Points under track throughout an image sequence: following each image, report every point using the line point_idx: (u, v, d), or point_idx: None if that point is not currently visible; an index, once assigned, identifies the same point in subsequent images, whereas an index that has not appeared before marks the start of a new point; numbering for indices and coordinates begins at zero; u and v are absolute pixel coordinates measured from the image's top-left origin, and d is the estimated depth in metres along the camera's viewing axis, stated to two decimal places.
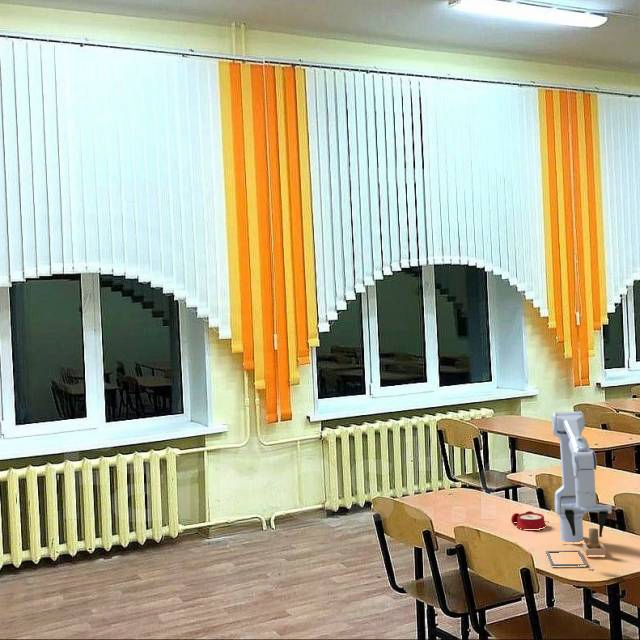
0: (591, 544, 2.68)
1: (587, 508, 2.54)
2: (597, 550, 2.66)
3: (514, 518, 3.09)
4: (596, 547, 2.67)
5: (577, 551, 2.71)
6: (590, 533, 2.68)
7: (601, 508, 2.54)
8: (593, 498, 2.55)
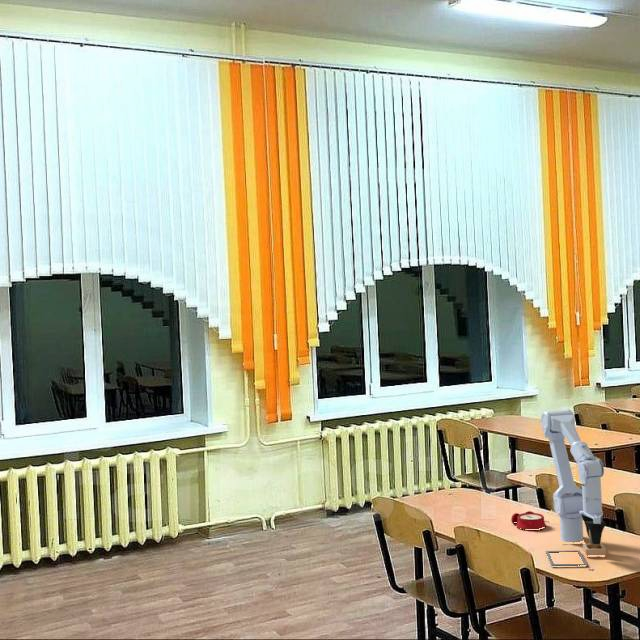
0: (591, 544, 2.68)
1: (581, 512, 2.68)
2: (597, 550, 2.66)
3: (514, 518, 3.09)
4: (596, 547, 2.67)
5: (577, 551, 2.71)
6: None
7: (590, 516, 2.64)
8: (588, 505, 2.66)
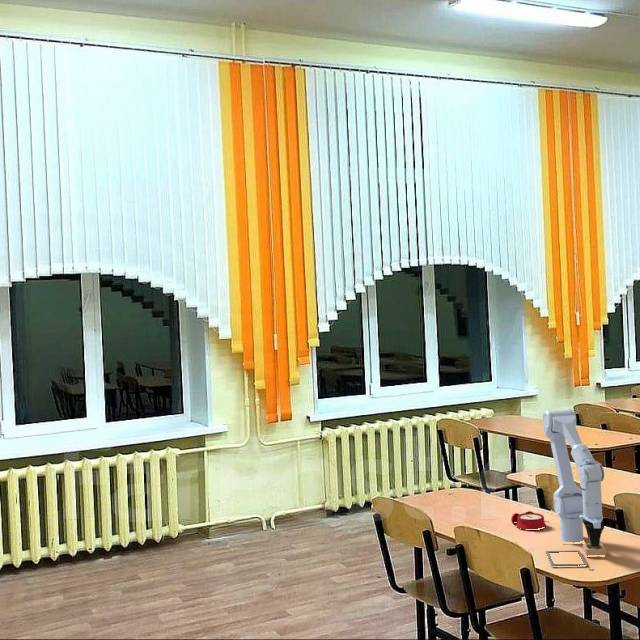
0: None
1: (582, 516, 2.68)
2: (597, 550, 2.66)
3: (514, 518, 3.09)
4: (596, 547, 2.67)
5: (577, 551, 2.71)
6: None
7: (590, 520, 2.64)
8: (588, 509, 2.66)
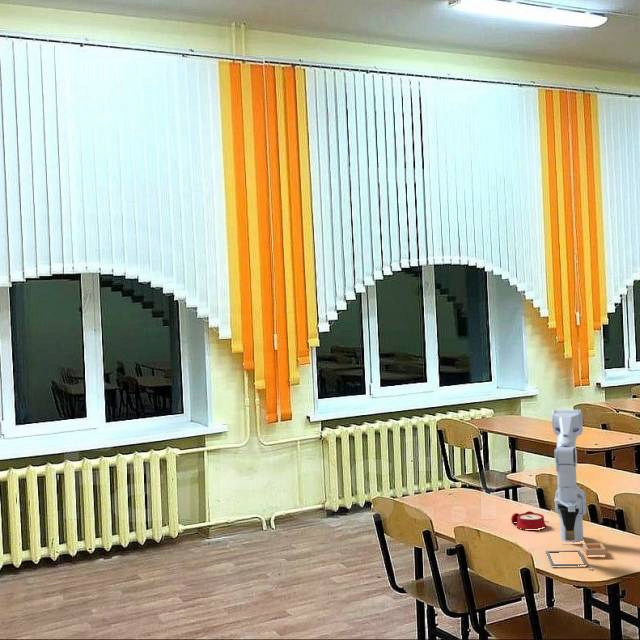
0: None
1: (556, 500, 2.64)
2: (597, 550, 2.66)
3: (514, 518, 3.09)
4: (572, 531, 2.63)
5: (577, 551, 2.71)
6: None
7: (564, 504, 2.60)
8: (563, 493, 2.62)
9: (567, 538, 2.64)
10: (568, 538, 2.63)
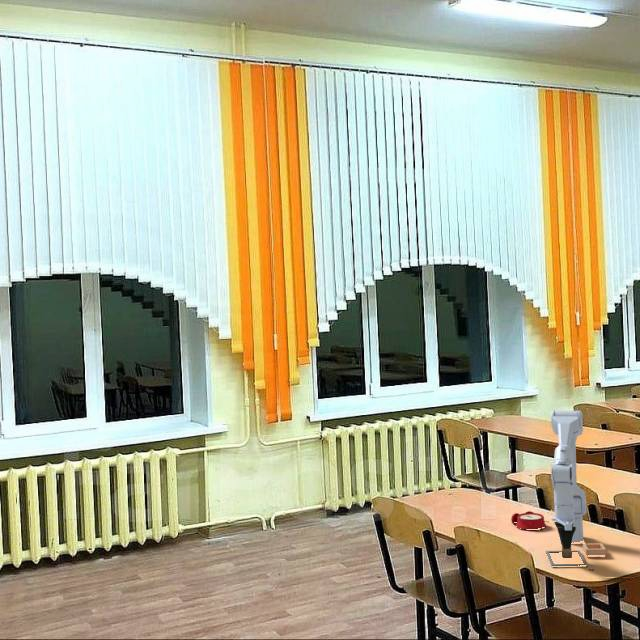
0: None
1: (553, 518, 2.64)
2: (597, 550, 2.66)
3: (514, 518, 3.09)
4: (569, 549, 2.63)
5: (577, 551, 2.71)
6: None
7: (561, 522, 2.59)
8: (560, 511, 2.61)
9: (564, 556, 2.63)
10: (565, 556, 2.63)
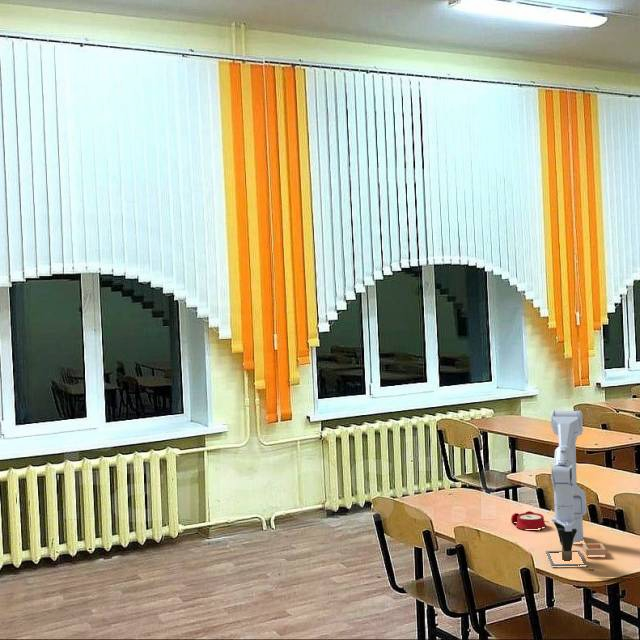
0: None
1: (553, 519, 2.64)
2: (597, 550, 2.66)
3: (514, 518, 3.09)
4: (569, 553, 2.63)
5: (577, 551, 2.71)
6: None
7: (561, 523, 2.59)
8: (560, 512, 2.62)
9: (564, 560, 2.63)
10: (565, 560, 2.63)
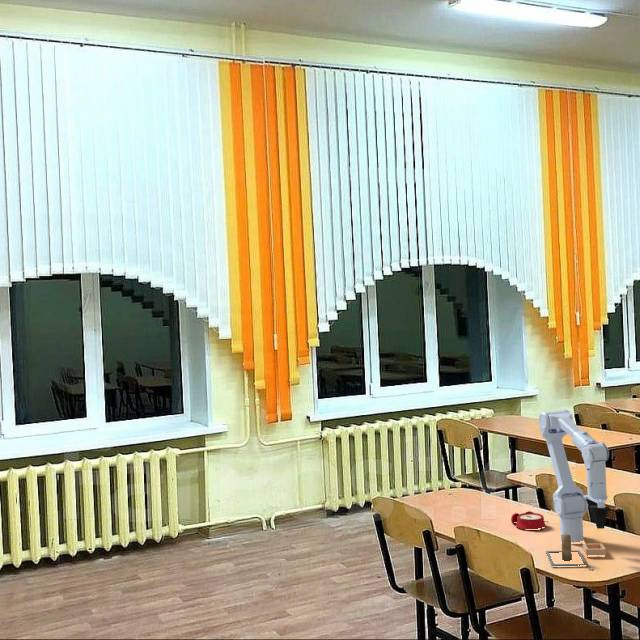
0: (564, 550, 2.63)
1: (586, 496, 2.67)
2: (597, 550, 2.66)
3: (514, 518, 3.09)
4: (569, 553, 2.63)
5: (577, 551, 2.71)
6: (563, 539, 2.63)
7: (594, 500, 2.63)
8: (592, 489, 2.65)
9: (564, 560, 2.63)
10: (565, 560, 2.63)
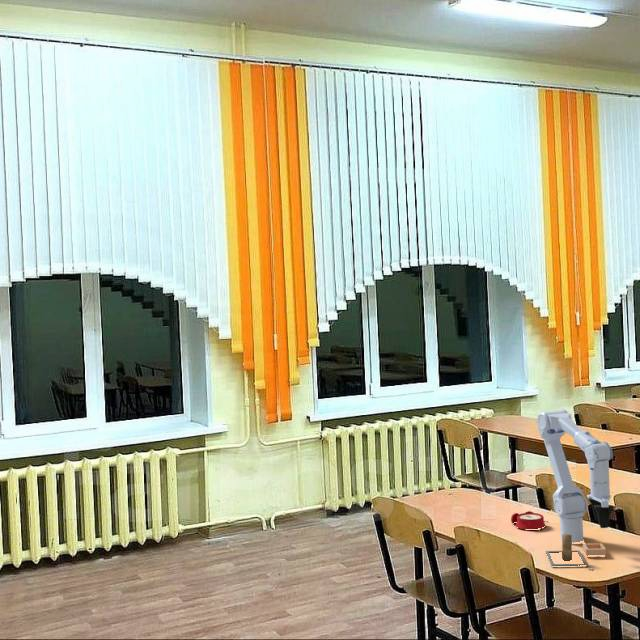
0: (564, 550, 2.63)
1: (589, 495, 2.67)
2: (597, 550, 2.66)
3: (514, 518, 3.09)
4: (569, 553, 2.63)
5: (577, 551, 2.71)
6: (563, 539, 2.63)
7: (597, 500, 2.63)
8: (596, 488, 2.65)
9: (564, 560, 2.63)
10: (565, 560, 2.63)
